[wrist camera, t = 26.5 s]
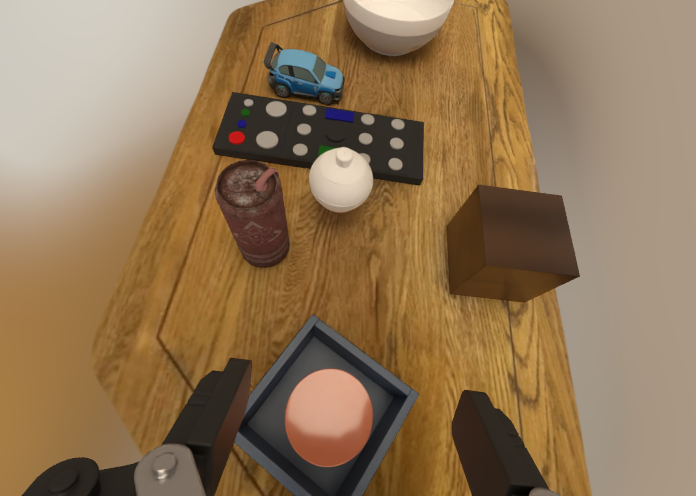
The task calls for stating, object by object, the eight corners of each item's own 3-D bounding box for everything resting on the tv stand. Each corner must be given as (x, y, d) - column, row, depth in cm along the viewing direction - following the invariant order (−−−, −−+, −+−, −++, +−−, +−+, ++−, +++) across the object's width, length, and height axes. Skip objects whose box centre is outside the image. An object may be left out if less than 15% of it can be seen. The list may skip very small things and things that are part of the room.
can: (300, 244, 44) (296, 180, 31) (264, 278, 42) (244, 224, 29) (268, 216, 45) (251, 144, 33) (231, 247, 43) (197, 182, 30)
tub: (401, 395, 37) (419, 393, 31) (335, 510, 33) (340, 535, 26) (312, 327, 40) (312, 313, 33) (237, 426, 35) (221, 431, 29)
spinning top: (325, 244, 44) (329, 193, 33) (299, 199, 47) (296, 138, 36) (374, 222, 46) (393, 167, 36) (347, 180, 49) (358, 117, 38)
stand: (524, 302, 44) (580, 276, 35) (449, 293, 43) (486, 265, 34) (514, 234, 48) (562, 195, 39) (446, 226, 47) (478, 184, 38)
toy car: (339, 108, 55) (342, 78, 50) (266, 95, 54) (262, 63, 49) (344, 83, 57) (348, 52, 52) (275, 71, 57) (271, 38, 52)
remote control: (234, 99, 53) (231, 89, 52) (421, 129, 55) (424, 119, 53) (215, 154, 49) (211, 144, 47) (419, 185, 50) (423, 176, 48)
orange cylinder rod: (337, 370, 37) (351, 354, 24) (360, 426, 35) (388, 439, 22) (286, 394, 36) (272, 391, 23) (307, 454, 34) (304, 486, 21)
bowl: (376, -5, 69) (384, -58, 61) (454, 37, 66) (473, -13, 58) (318, 36, 62) (319, -17, 54) (402, 87, 58) (417, 37, 50)
